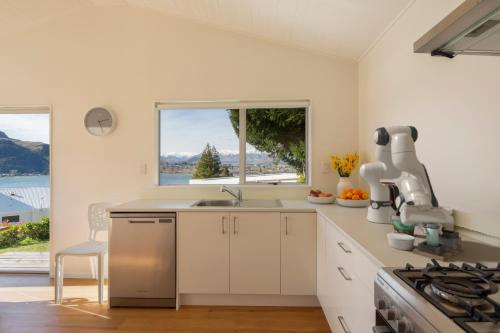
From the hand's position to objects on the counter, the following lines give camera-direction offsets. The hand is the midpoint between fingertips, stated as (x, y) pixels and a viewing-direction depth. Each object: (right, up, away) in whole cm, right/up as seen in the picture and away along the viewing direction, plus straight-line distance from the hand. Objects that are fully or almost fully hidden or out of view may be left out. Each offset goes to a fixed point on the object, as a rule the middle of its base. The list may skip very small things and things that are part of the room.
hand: (433, 234), depth 107 cm
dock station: (+6, -9, +5) cm, 12 cm away
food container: (+7, -9, +31) cm, 33 cm away
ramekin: (-7, -9, +11) cm, 16 cm away
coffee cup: (+20, -9, +21) cm, 31 cm away
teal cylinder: (0, -5, +1) cm, 5 cm away
